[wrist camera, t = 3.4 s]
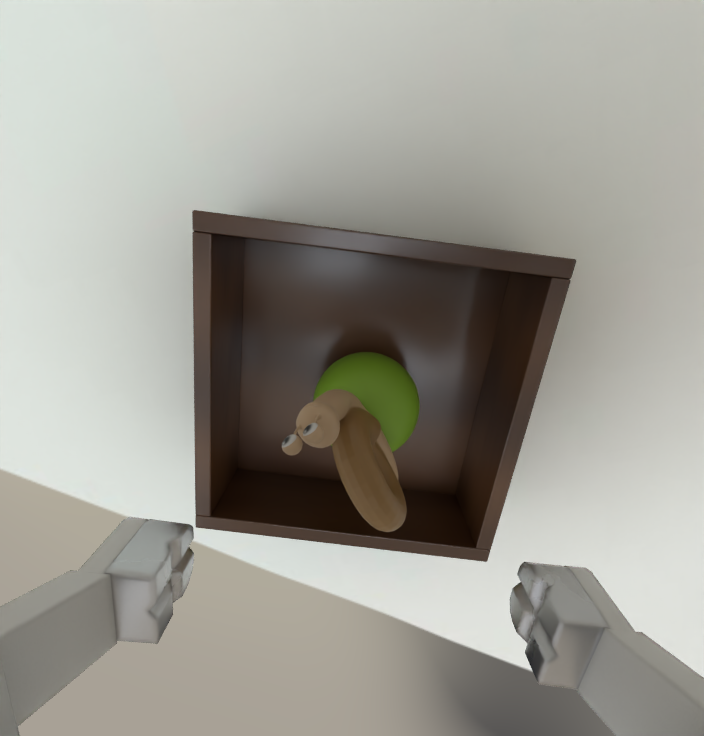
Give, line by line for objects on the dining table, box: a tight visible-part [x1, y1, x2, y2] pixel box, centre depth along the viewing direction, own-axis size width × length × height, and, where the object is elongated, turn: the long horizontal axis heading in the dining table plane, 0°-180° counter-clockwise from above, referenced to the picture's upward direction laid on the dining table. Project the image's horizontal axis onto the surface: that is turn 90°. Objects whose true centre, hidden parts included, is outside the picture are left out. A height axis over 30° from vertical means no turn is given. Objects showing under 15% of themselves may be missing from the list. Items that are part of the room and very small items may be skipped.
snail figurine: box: [282, 352, 420, 532], centre depth 16 cm, size 5×6×12 cm
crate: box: [192, 210, 576, 562], centre depth 20 cm, size 16×16×5 cm
